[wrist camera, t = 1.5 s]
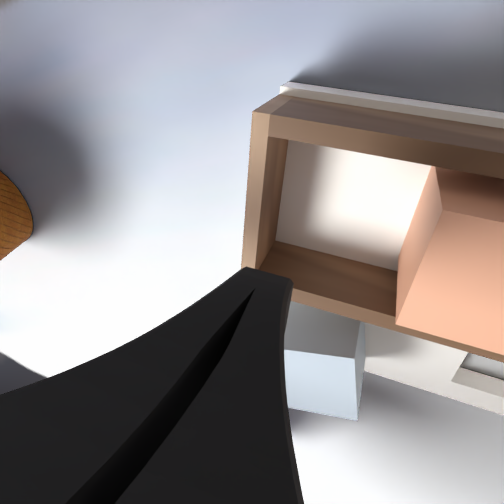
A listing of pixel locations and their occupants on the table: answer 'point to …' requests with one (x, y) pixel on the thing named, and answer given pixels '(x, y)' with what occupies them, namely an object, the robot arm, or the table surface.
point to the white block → (323, 361)
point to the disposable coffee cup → (12, 217)
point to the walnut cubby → (362, 141)
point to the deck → (377, 233)
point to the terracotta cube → (455, 261)
